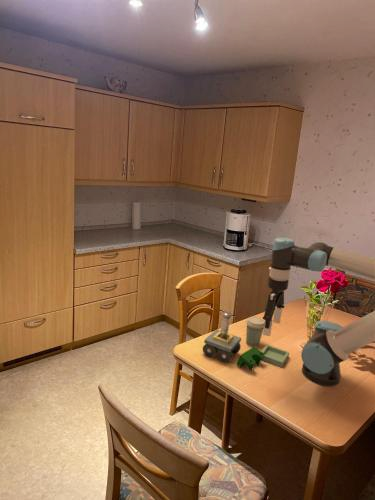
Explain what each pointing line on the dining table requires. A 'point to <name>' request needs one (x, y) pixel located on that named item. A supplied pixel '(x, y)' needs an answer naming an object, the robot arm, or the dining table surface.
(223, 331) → the pin
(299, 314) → the dining table surface
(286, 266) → the robot arm
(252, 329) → the coffee cup
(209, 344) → the toy cart
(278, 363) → the tray
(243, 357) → the clamp
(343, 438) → the dining table surface
